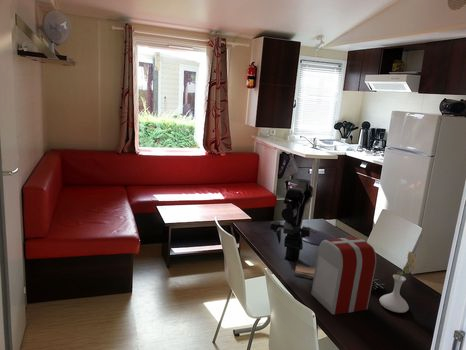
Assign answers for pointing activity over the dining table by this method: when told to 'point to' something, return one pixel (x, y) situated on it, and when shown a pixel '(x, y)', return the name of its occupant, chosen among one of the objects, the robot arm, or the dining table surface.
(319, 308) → the dining table surface
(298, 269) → the terracotta tile
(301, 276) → the birch dock
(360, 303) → the striped gift box
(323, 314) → the dining table surface
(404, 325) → the dining table surface
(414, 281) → the dining table surface
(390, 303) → the flower in vase
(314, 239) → the toy spaceship
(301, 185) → the robot arm
